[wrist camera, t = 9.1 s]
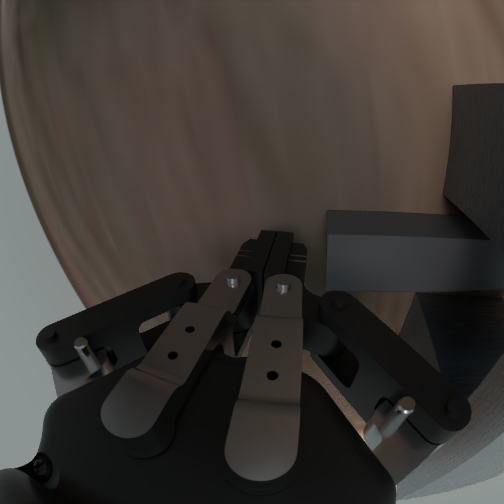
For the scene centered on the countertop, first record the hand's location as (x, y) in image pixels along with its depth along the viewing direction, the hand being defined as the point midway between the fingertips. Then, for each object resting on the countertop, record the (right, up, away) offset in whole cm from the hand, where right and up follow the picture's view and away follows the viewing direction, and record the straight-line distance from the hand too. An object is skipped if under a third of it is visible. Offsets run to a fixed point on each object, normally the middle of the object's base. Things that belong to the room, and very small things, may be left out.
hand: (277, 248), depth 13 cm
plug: (+13, +1, -1) cm, 13 cm away
